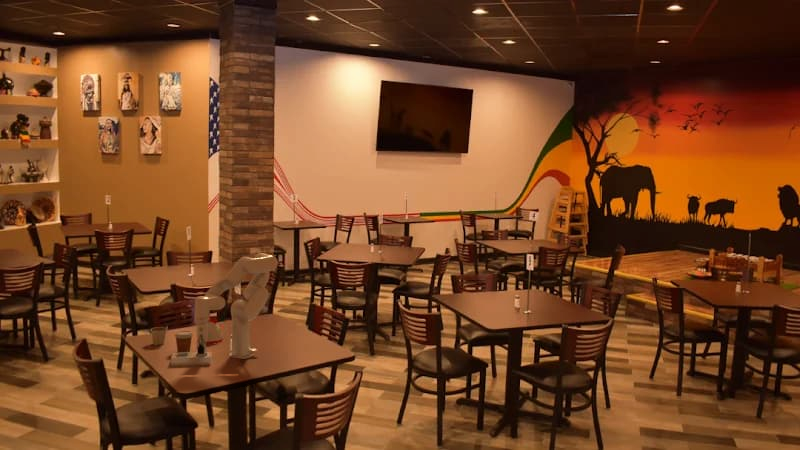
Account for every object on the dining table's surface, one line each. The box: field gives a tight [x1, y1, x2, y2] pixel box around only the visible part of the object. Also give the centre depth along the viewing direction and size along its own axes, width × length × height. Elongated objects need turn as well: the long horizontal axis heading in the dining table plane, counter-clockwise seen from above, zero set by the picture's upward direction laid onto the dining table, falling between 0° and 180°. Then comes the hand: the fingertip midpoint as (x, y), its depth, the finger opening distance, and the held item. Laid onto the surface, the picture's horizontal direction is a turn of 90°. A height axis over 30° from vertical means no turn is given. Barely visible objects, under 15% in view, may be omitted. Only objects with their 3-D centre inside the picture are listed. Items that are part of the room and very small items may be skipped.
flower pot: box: [149, 326, 168, 346], centre depth 396 cm, size 9×9×9 cm
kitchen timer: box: [205, 315, 224, 345], centre depth 405 cm, size 14×14×15 cm
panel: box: [170, 351, 213, 367], centre depth 362 cm, size 20×10×5 cm, turn 102°
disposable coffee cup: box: [174, 330, 193, 352], centre depth 379 cm, size 10×10×12 cm
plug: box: [196, 343, 207, 356], centre depth 362 cm, size 5×4×10 cm
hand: (201, 351), depth 362 cm, fingers open, 9 cm apart
